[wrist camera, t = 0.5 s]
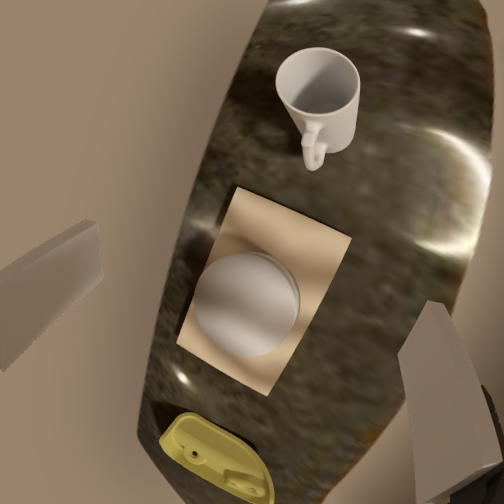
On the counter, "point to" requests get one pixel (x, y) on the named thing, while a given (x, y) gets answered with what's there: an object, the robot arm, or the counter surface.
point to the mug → (320, 100)
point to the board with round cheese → (260, 289)
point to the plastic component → (218, 458)
